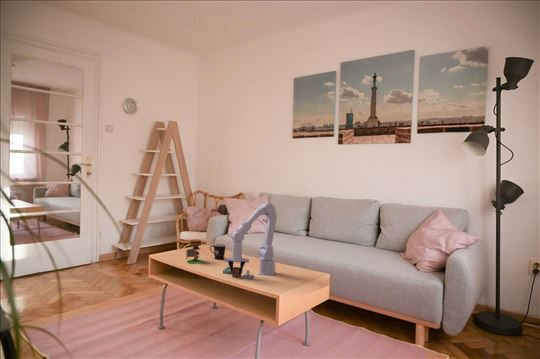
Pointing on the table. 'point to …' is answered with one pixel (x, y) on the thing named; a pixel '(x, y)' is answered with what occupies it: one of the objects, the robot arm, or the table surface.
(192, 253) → the toy tree house
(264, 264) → the robot arm
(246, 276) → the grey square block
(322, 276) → the table surface
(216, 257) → the coffee mug
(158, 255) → the table surface
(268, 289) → the table surface
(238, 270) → the walnut ring block
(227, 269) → the tray
